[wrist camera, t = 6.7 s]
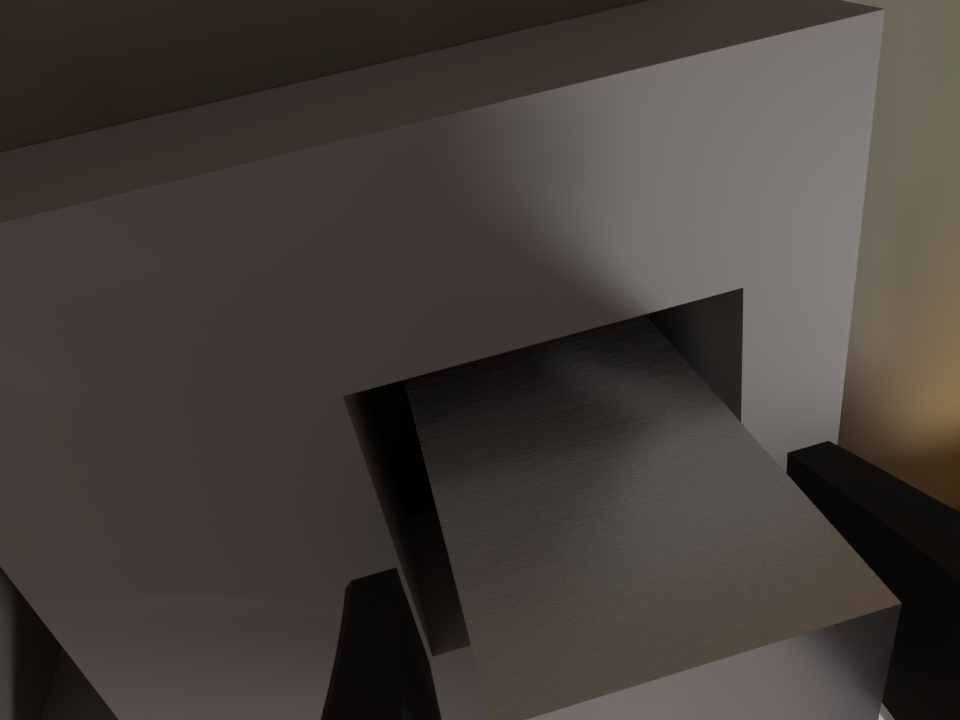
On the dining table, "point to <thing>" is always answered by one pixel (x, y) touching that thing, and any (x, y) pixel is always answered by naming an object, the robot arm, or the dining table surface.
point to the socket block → (386, 323)
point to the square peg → (639, 544)
